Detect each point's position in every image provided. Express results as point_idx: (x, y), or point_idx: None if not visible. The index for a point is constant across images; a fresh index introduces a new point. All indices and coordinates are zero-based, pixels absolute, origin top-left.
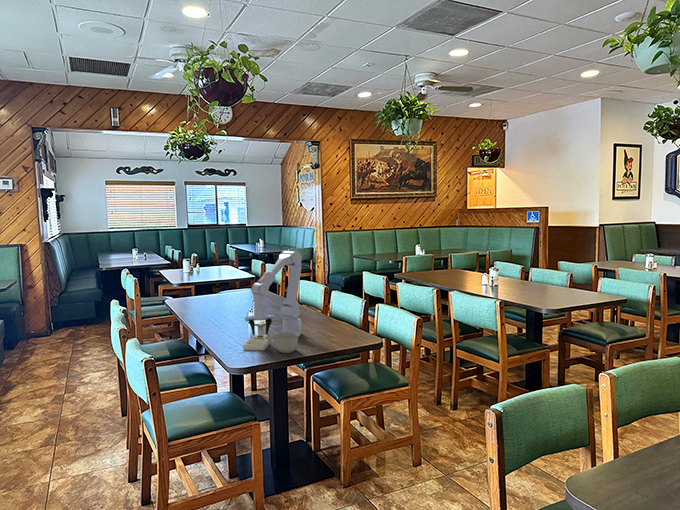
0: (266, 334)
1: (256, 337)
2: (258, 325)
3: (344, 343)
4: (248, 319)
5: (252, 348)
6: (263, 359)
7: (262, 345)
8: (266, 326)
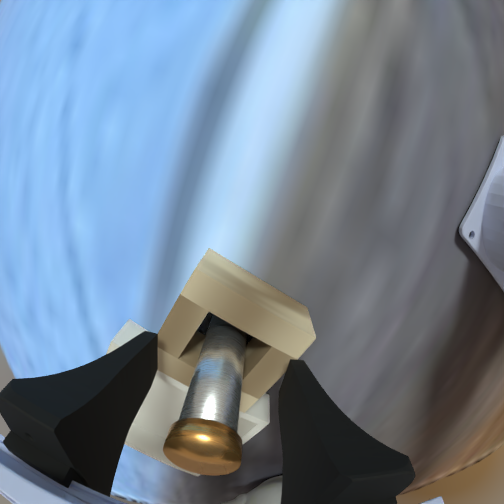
0: (281, 392)
1: (177, 366)
2: (172, 461)
3: (498, 431)
4: (8, 465)
5: (140, 433)
6: (175, 497)
7: (188, 471)
8: (291, 456)
